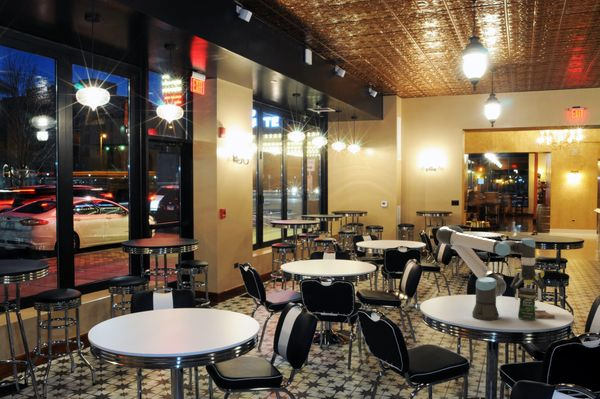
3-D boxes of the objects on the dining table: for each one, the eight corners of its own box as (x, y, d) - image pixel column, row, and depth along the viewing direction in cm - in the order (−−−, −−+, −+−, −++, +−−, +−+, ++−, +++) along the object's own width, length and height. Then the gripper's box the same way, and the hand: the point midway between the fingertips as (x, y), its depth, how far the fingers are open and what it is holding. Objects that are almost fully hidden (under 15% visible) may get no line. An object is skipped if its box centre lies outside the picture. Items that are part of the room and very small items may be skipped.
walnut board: (532, 318, 307) (532, 315, 307) (523, 312, 320) (524, 310, 320) (554, 318, 307) (554, 315, 307) (544, 313, 320) (544, 310, 320)
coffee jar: (517, 319, 303) (518, 288, 303) (518, 316, 310) (519, 286, 310) (535, 321, 299) (536, 290, 299) (535, 318, 306) (536, 287, 306)
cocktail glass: (526, 310, 325) (527, 272, 325) (507, 304, 342) (508, 267, 342) (549, 309, 330) (550, 271, 329) (530, 303, 347) (531, 267, 347)
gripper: (509, 265, 301) (509, 300, 301) (552, 265, 300) (551, 301, 300) (504, 263, 308) (504, 298, 308) (546, 263, 307) (546, 298, 308)
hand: (527, 299), depth 304 cm, fingers open, 13 cm apart
